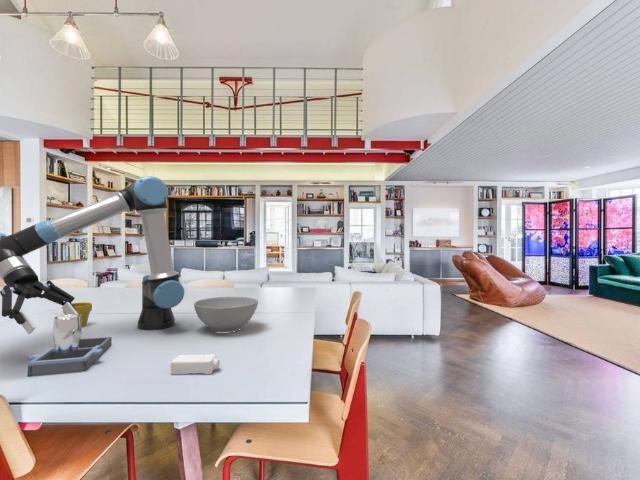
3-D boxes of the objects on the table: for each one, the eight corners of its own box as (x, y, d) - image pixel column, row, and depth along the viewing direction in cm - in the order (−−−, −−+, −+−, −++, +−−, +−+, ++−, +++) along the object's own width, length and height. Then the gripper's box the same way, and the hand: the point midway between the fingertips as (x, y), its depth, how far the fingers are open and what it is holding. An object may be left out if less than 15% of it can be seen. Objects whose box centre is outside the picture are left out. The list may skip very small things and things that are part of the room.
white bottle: (215, 375, 95) (216, 361, 95) (170, 375, 94) (170, 361, 94) (221, 367, 101) (221, 353, 101) (179, 367, 100) (179, 353, 100)
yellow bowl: (96, 325, 147) (96, 303, 147) (68, 330, 138) (69, 307, 138) (85, 322, 152) (85, 301, 152) (58, 327, 144) (58, 304, 144)
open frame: (117, 344, 121) (117, 334, 121) (93, 370, 97) (93, 357, 97) (59, 348, 115) (59, 338, 115) (18, 377, 91) (18, 363, 91)
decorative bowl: (269, 325, 149) (269, 299, 149) (230, 342, 125) (231, 310, 125) (223, 319, 160) (223, 294, 160) (179, 333, 136) (179, 304, 136)
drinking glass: (49, 371, 96) (50, 320, 96) (55, 363, 102) (56, 315, 102) (78, 367, 99) (79, 317, 99) (83, 359, 105) (83, 313, 105)
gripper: (50, 278, 116) (85, 322, 113) (-39, 288, 92) (2, 345, 89) (63, 263, 115) (98, 308, 112) (-25, 269, 91) (17, 327, 88)
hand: (56, 324), depth 101 cm, fingers open, 13 cm apart
